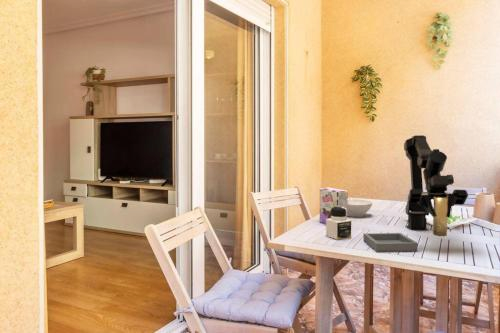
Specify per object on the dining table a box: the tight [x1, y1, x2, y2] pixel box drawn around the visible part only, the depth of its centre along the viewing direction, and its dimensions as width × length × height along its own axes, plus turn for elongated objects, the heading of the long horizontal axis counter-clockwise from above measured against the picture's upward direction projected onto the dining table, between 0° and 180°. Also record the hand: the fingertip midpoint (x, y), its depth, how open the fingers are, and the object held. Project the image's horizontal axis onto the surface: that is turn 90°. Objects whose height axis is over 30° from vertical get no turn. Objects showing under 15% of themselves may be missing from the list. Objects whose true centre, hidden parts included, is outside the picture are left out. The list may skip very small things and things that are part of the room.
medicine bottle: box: [325, 207, 352, 241], centre depth 155 cm, size 7×7×12 cm
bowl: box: [347, 198, 373, 218], centre depth 197 cm, size 16×16×7 cm
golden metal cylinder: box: [432, 197, 448, 237], centre depth 134 cm, size 4×4×13 cm
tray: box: [363, 232, 419, 253], centre depth 142 cm, size 14×14×3 cm
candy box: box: [319, 186, 349, 225], centre depth 177 cm, size 14×6×16 cm, turn 24°
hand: (441, 216), depth 133 cm, fingers closed on golden metal cylinder, 4 cm apart
